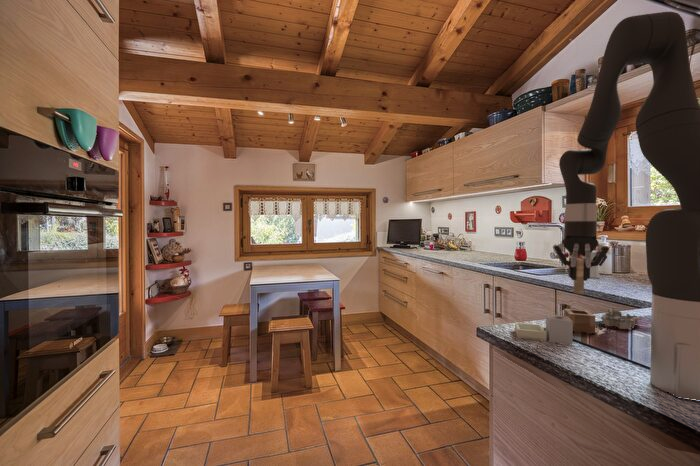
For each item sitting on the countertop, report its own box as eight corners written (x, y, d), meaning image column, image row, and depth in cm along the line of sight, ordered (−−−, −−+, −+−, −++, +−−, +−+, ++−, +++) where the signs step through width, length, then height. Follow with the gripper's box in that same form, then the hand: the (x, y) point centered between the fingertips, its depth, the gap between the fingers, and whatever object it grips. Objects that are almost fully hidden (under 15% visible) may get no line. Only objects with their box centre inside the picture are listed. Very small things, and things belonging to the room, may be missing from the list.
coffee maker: (573, 275, 185) (574, 245, 184) (584, 275, 188) (585, 244, 187) (600, 280, 171) (601, 246, 170) (612, 279, 173) (612, 246, 173)
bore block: (595, 333, 88) (595, 316, 88) (569, 331, 90) (569, 313, 90) (588, 327, 94) (588, 310, 94) (564, 325, 96) (564, 308, 96)
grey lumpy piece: (611, 319, 102) (612, 307, 102) (642, 326, 96) (642, 312, 96) (597, 325, 96) (597, 311, 96) (629, 332, 90) (629, 318, 90)
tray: (546, 341, 83) (546, 332, 83) (517, 338, 85) (517, 329, 85) (541, 333, 89) (541, 324, 89) (514, 330, 91) (515, 322, 91)
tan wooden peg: (584, 294, 90) (585, 259, 90) (574, 293, 91) (575, 259, 91) (582, 292, 93) (583, 258, 92) (572, 291, 94) (573, 258, 93)
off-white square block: (572, 345, 80) (572, 321, 80) (549, 342, 82) (549, 319, 82) (567, 338, 85) (567, 315, 85) (545, 336, 87) (545, 314, 87)
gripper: (555, 220, 90) (554, 280, 91) (615, 219, 85) (613, 284, 86) (549, 220, 97) (548, 276, 98) (604, 219, 92) (603, 279, 93)
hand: (579, 279), depth 92 cm, fingers closed on tan wooden peg, 2 cm apart
